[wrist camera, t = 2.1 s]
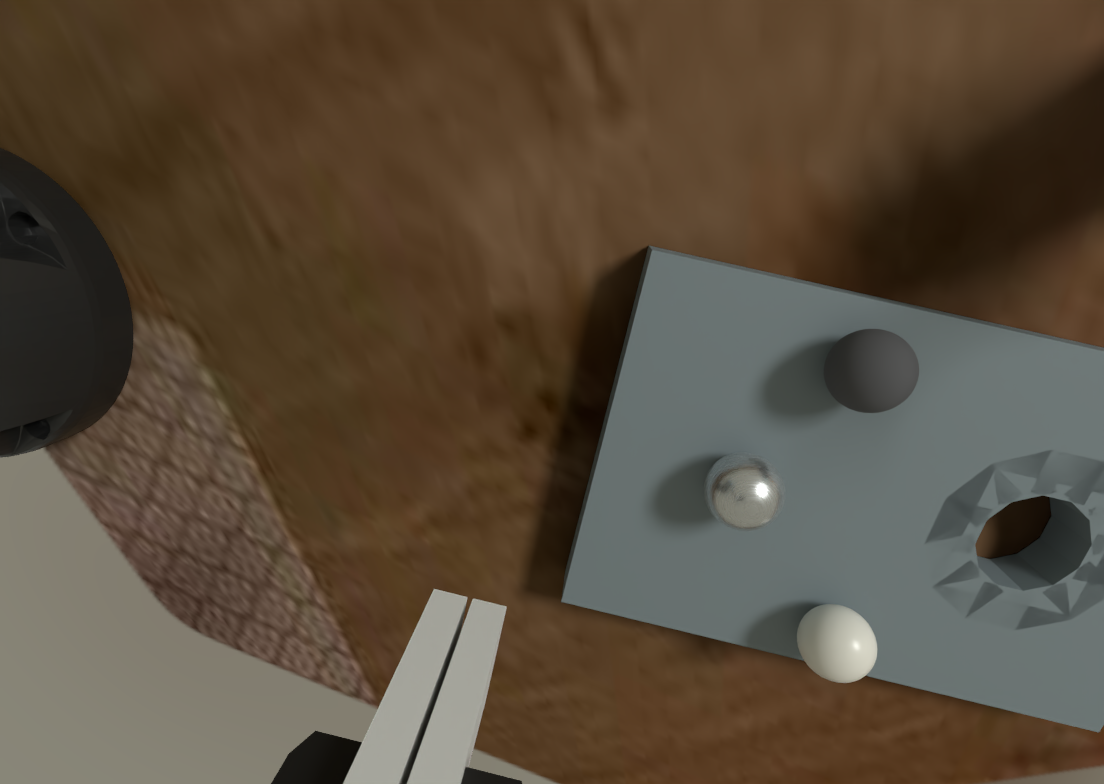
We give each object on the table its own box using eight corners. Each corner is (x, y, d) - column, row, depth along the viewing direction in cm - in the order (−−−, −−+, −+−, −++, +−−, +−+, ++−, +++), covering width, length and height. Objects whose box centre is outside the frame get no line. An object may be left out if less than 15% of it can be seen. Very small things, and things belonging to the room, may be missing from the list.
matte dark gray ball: (801, 388, 25) (827, 414, 22) (828, 313, 24) (859, 329, 21) (878, 405, 25) (914, 434, 22) (908, 331, 24) (951, 350, 21)
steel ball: (690, 498, 27) (699, 535, 24) (710, 433, 26) (723, 463, 23) (760, 514, 27) (779, 554, 24) (784, 450, 26) (806, 483, 23)
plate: (565, 571, 32) (561, 601, 29) (648, 245, 26) (652, 249, 24) (1061, 691, 31) (1098, 732, 28) (1250, 380, 26) (1315, 398, 23)
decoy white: (779, 638, 29) (798, 689, 26) (801, 582, 28) (824, 629, 25) (845, 654, 29) (873, 708, 25) (871, 598, 28) (903, 647, 24)
